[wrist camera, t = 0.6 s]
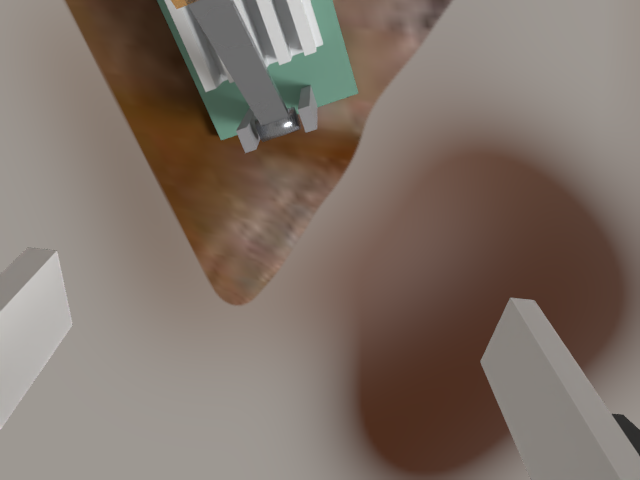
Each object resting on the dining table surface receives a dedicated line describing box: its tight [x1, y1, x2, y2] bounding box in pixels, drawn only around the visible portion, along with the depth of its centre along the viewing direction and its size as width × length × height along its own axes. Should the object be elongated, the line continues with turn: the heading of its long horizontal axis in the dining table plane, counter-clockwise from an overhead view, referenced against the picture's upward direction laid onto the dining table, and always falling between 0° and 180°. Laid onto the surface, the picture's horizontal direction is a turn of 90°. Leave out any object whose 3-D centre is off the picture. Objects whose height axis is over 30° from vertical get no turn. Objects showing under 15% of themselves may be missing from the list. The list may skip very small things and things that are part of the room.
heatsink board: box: [157, 0, 358, 153], centre depth 29 cm, size 16×12×8 cm
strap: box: [171, 0, 301, 142], centre depth 25 cm, size 14×3×2 cm
